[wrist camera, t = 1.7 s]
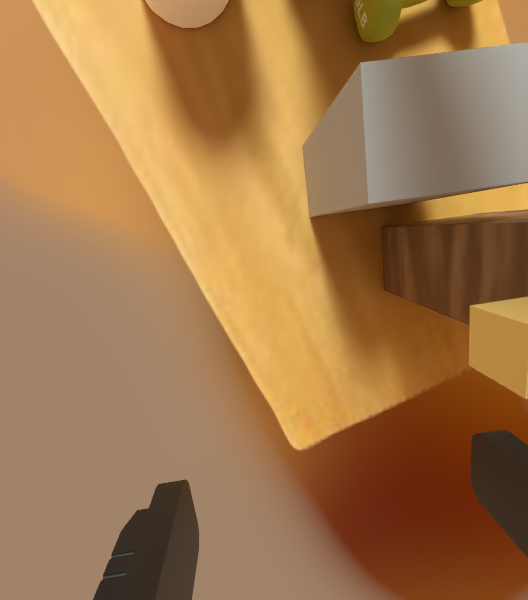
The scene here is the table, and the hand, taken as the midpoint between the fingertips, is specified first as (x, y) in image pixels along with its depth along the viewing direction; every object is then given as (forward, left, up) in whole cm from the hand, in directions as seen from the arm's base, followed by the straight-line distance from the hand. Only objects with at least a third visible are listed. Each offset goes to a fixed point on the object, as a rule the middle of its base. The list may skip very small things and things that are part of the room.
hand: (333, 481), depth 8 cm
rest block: (+5, +21, -40) cm, 45 cm away
